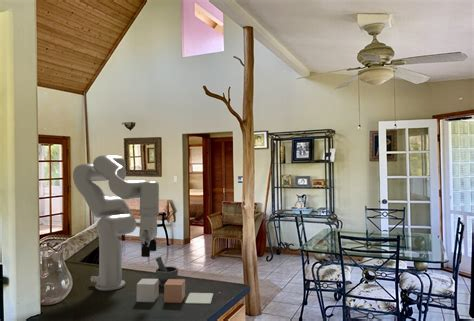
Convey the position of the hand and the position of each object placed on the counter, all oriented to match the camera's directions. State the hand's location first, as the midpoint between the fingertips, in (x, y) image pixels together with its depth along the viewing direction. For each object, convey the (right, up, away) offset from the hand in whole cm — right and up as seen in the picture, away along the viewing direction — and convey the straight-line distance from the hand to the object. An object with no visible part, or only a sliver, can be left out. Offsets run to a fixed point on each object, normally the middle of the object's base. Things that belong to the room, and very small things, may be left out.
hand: (149, 253), depth 149 cm
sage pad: (+21, -18, 0) cm, 28 cm away
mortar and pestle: (+3, -19, +18) cm, 26 cm away
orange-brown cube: (+11, -18, -1) cm, 21 cm away
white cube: (0, -18, 0) cm, 18 cm away
